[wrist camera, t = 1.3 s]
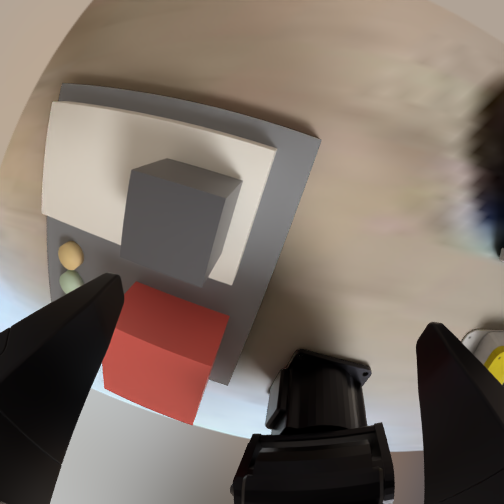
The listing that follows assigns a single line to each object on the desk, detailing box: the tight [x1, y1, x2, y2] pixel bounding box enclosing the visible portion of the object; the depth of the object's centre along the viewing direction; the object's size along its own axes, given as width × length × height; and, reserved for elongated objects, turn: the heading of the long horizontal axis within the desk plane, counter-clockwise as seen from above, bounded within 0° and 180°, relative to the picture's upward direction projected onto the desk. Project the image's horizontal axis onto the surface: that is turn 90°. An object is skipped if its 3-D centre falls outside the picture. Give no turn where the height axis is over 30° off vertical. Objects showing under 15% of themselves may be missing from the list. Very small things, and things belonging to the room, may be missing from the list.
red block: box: [102, 281, 230, 425], centre depth 19 cm, size 7×7×5 cm
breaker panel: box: [42, 83, 321, 386], centre depth 18 cm, size 17×19×3 cm
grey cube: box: [120, 158, 243, 288], centre depth 13 cm, size 4×4×4 cm
